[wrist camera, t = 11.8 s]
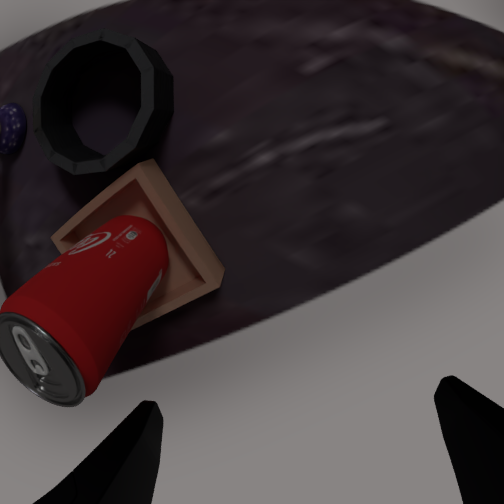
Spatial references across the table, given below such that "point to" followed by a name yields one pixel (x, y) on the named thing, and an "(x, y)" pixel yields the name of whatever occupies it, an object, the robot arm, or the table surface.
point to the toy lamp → (11, 128)
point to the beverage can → (82, 309)
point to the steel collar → (64, 84)
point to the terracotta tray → (171, 225)
